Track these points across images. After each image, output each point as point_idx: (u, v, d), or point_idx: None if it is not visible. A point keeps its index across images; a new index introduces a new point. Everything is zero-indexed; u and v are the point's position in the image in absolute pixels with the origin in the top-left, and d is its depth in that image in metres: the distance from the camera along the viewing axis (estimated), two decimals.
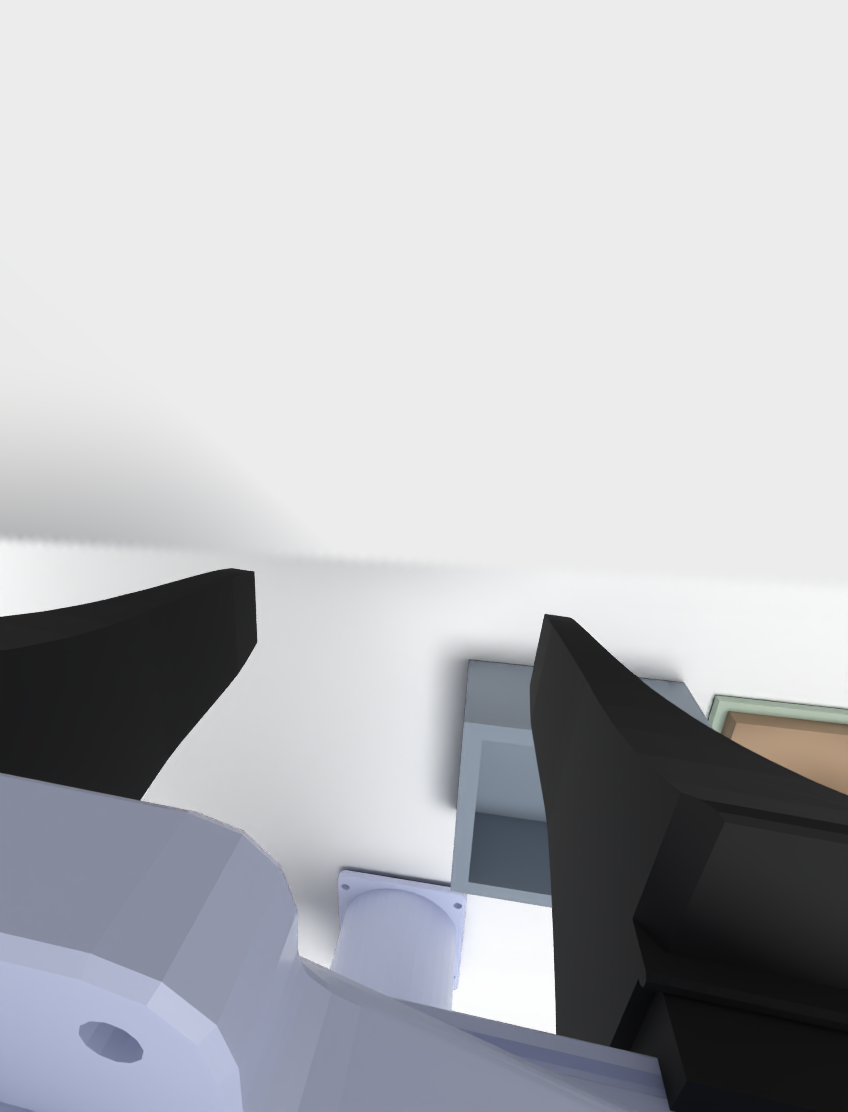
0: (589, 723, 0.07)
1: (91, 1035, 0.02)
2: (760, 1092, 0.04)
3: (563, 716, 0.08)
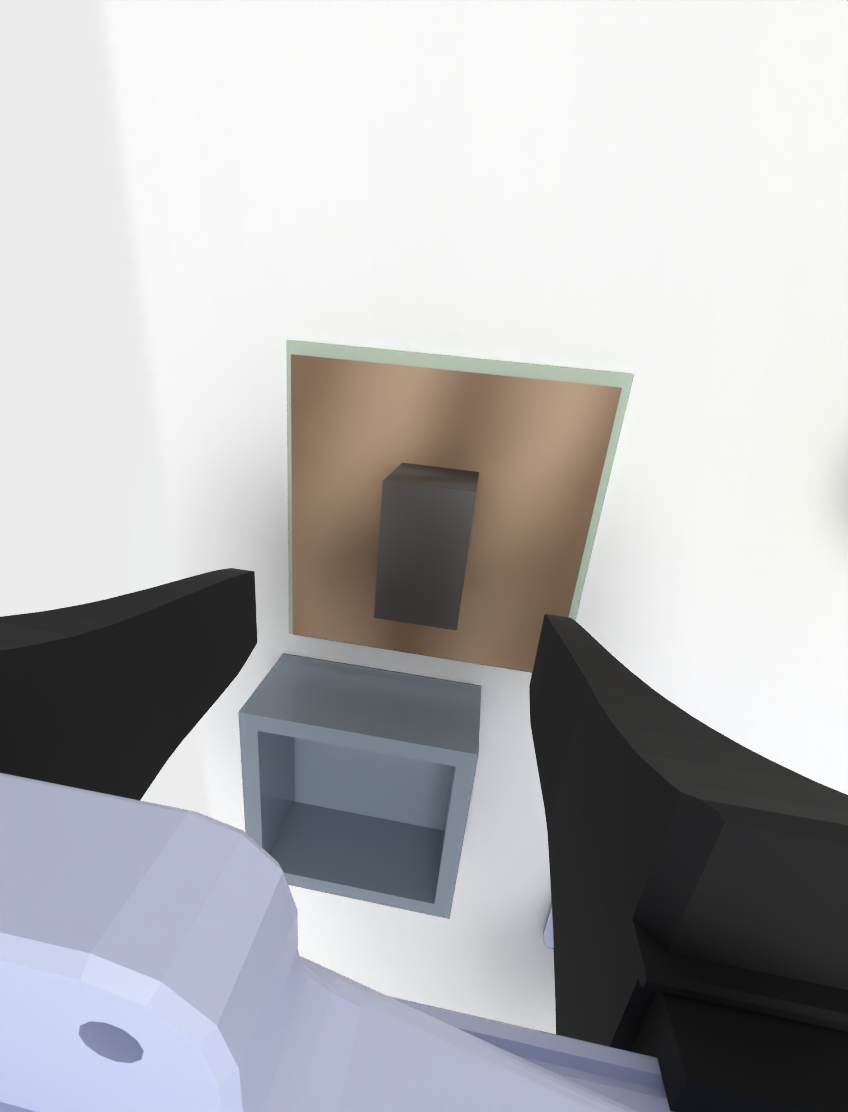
0: (589, 723, 0.07)
1: (92, 1035, 0.02)
2: (760, 1092, 0.04)
3: (563, 716, 0.08)
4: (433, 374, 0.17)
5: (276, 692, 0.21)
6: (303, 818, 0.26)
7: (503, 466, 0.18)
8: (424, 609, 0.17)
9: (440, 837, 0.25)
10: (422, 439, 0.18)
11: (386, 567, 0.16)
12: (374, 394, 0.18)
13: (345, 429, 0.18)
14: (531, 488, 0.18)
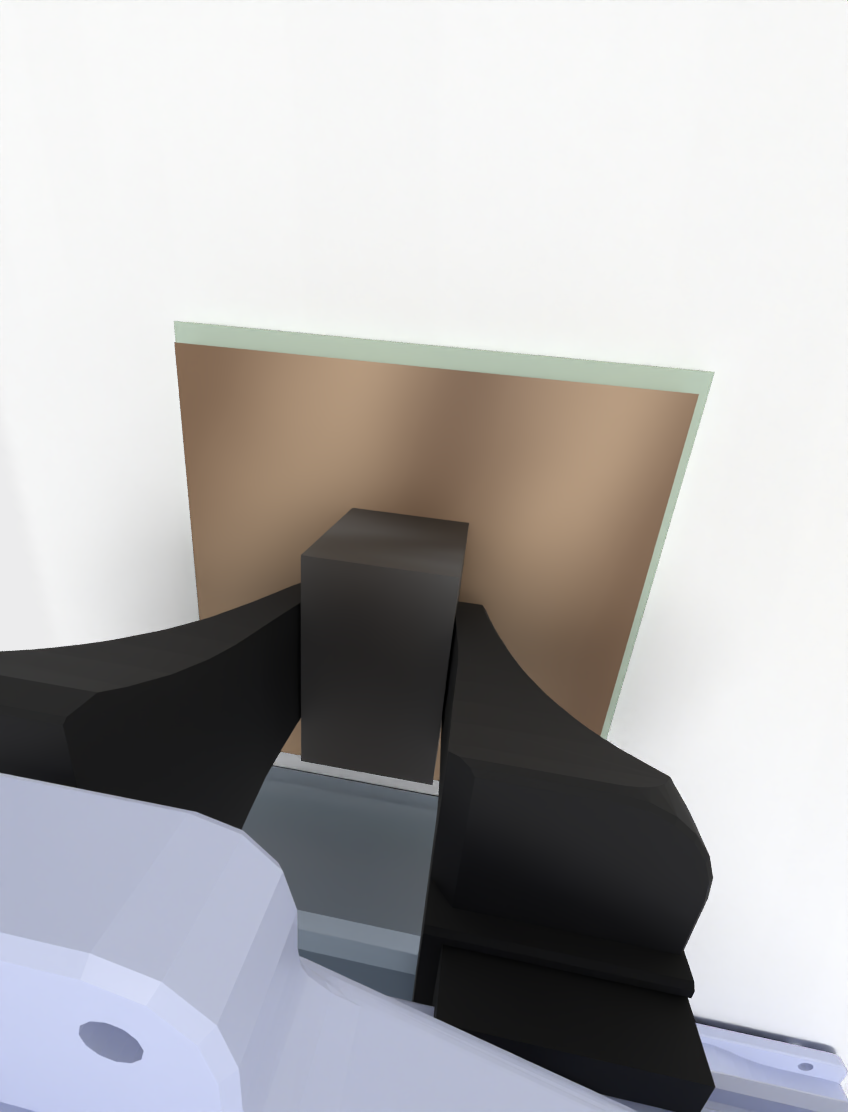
0: None
1: (92, 1035, 0.02)
2: (505, 1033, 0.04)
3: (450, 697, 0.09)
4: (394, 373, 0.11)
5: None
6: None
7: (506, 514, 0.12)
8: (378, 752, 0.10)
9: None
10: (381, 473, 0.12)
11: (315, 688, 0.10)
12: (305, 404, 0.11)
13: (265, 457, 0.12)
14: (550, 548, 0.12)
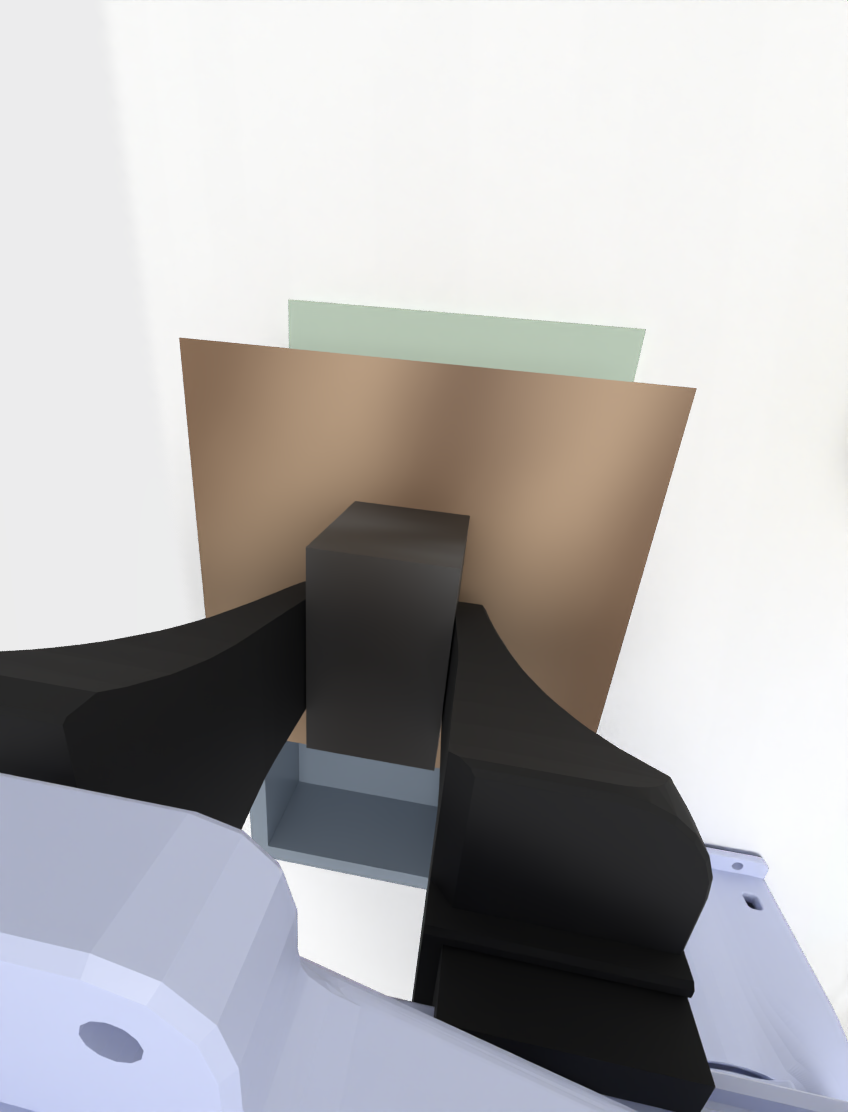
0: None
1: (91, 1035, 0.02)
2: (505, 1033, 0.04)
3: (450, 697, 0.09)
4: (396, 368, 0.11)
5: None
6: (308, 797, 0.25)
7: (506, 507, 0.12)
8: (382, 739, 0.11)
9: None
10: (383, 467, 0.12)
11: (319, 677, 0.10)
12: (308, 399, 0.12)
13: (269, 451, 0.12)
14: (549, 540, 0.12)
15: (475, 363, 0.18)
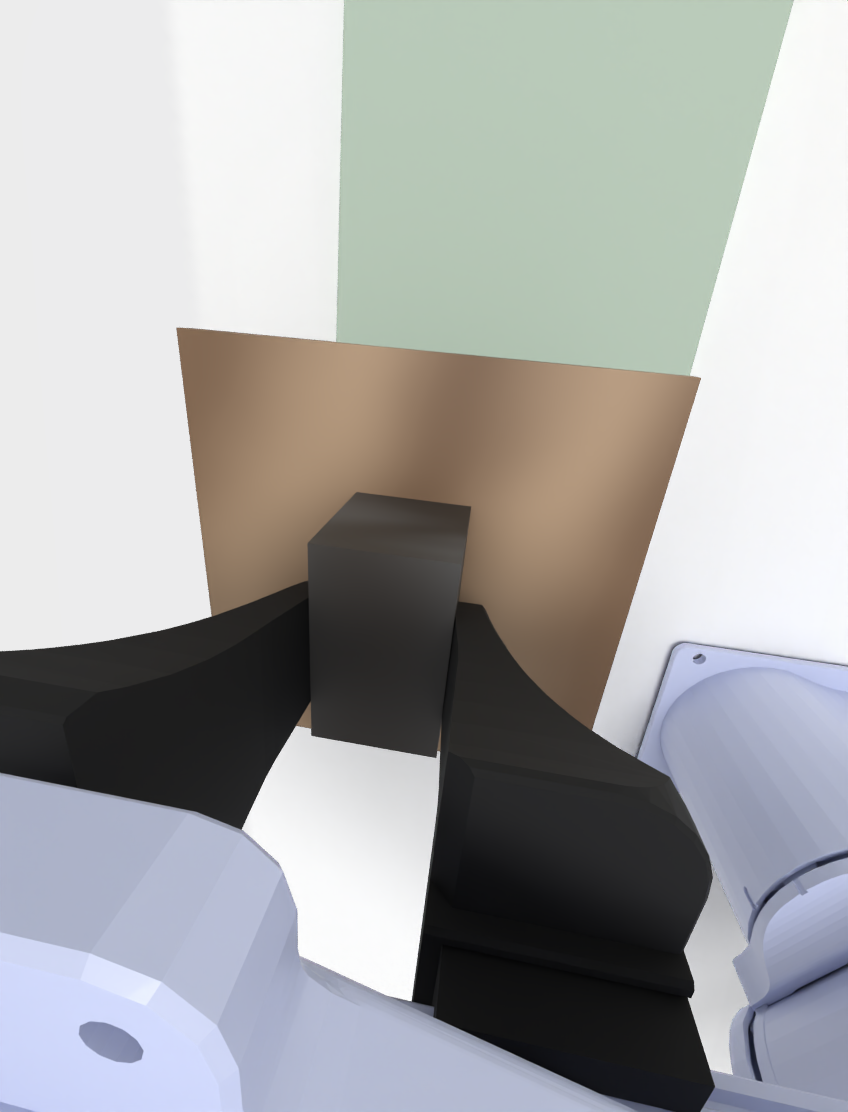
0: None
1: (91, 1036, 0.02)
2: (505, 1034, 0.04)
3: (450, 697, 0.09)
4: (396, 358, 0.11)
5: None
6: None
7: (507, 498, 0.12)
8: (385, 728, 0.11)
9: None
10: (384, 458, 0.12)
11: (323, 669, 0.10)
12: (308, 390, 0.11)
13: (269, 443, 0.12)
14: (550, 531, 0.12)
15: None
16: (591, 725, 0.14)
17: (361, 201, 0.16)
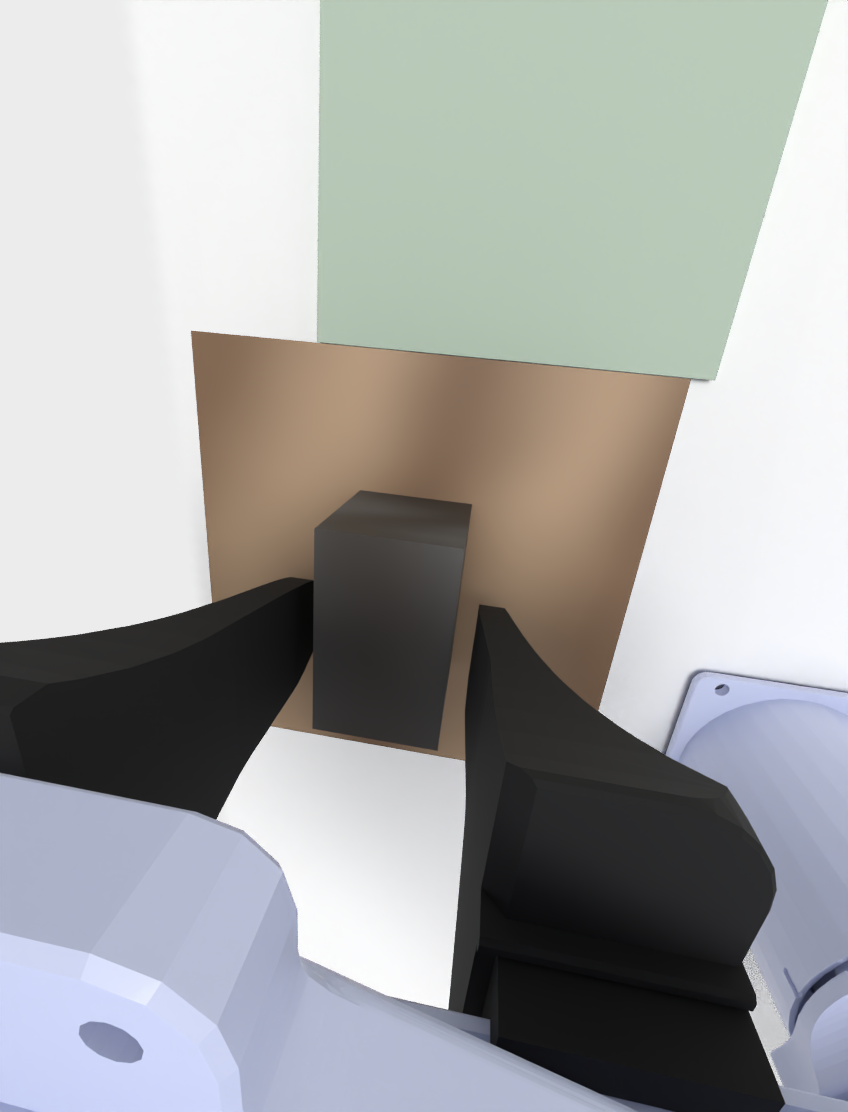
0: (487, 706, 0.07)
1: (91, 1036, 0.02)
2: (568, 1048, 0.04)
3: (479, 701, 0.09)
4: (401, 360, 0.11)
5: None
6: None
7: (507, 496, 0.12)
8: (386, 719, 0.11)
9: None
10: (388, 456, 0.12)
11: (326, 657, 0.10)
12: (315, 390, 0.12)
13: (276, 442, 0.12)
14: (549, 528, 0.12)
15: None
16: None
17: (343, 176, 0.14)
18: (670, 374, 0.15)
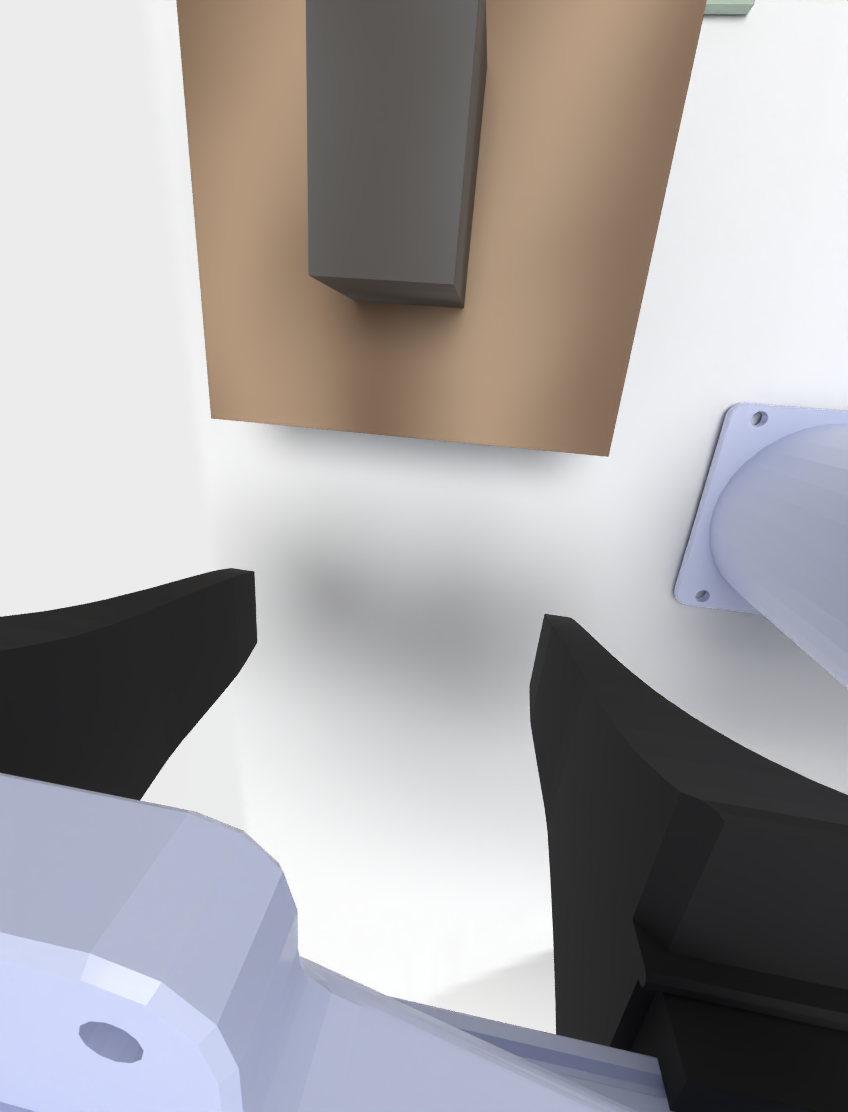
0: (589, 723, 0.07)
1: (91, 1035, 0.02)
2: (760, 1092, 0.04)
3: (563, 715, 0.08)
4: None
5: None
6: None
7: (527, 47, 0.11)
8: (394, 243, 0.09)
9: None
10: None
11: (323, 153, 0.09)
12: None
13: (264, 5, 0.11)
14: (576, 88, 0.11)
15: None
16: (623, 378, 0.13)
17: None
18: None
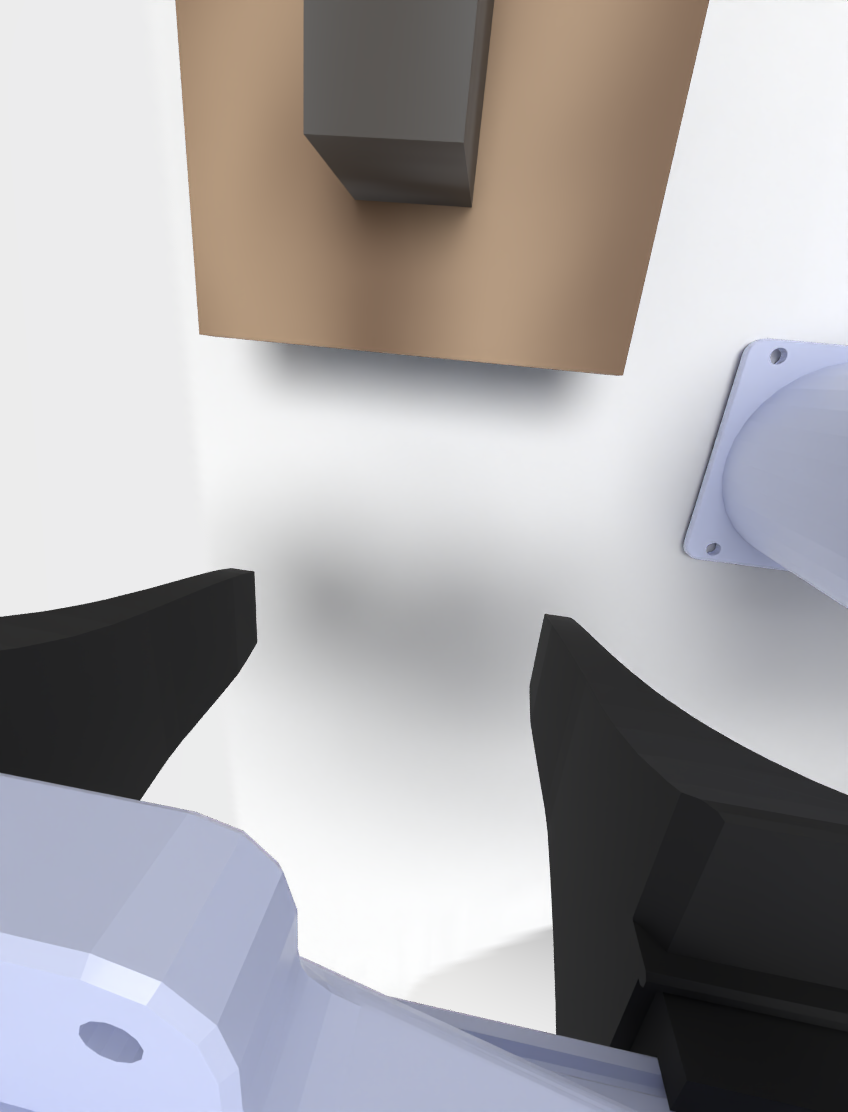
0: (589, 723, 0.07)
1: (91, 1036, 0.02)
2: (760, 1093, 0.04)
3: (563, 716, 0.08)
4: None
5: None
6: None
7: None
8: (398, 93, 0.08)
9: None
10: None
11: None
12: None
13: None
14: None
15: None
16: (641, 286, 0.12)
17: None
18: None
